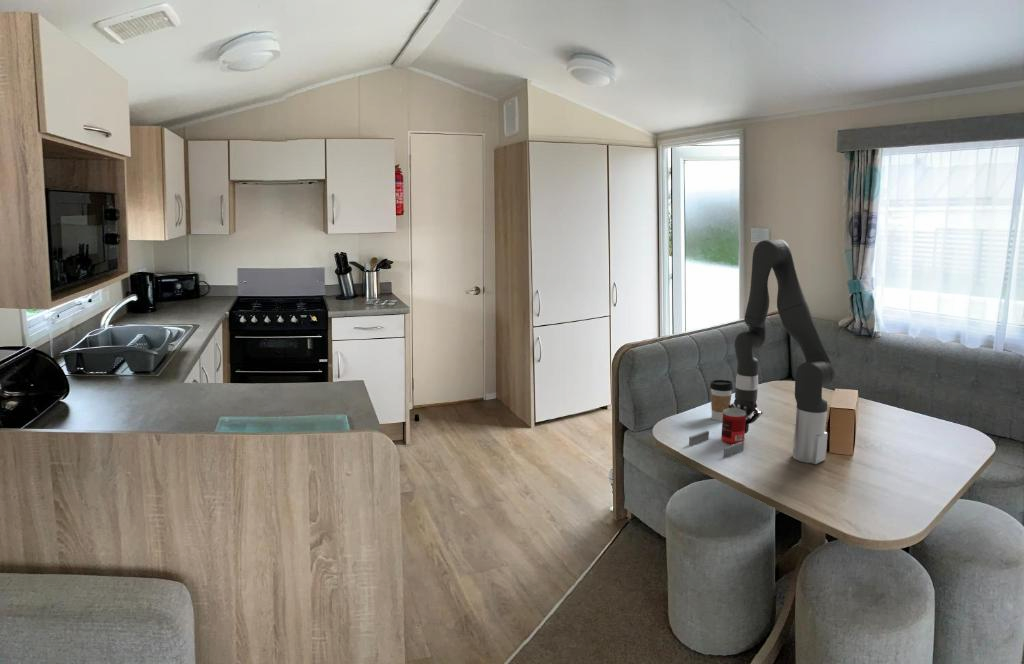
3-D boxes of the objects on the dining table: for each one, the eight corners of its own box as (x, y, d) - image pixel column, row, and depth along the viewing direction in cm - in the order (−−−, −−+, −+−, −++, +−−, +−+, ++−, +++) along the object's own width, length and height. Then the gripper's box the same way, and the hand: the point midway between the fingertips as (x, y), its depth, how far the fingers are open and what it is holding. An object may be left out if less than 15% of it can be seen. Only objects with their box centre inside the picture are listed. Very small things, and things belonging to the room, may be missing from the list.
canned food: (746, 439, 250) (748, 410, 248) (740, 446, 243) (742, 416, 241) (724, 435, 254) (726, 406, 252) (718, 442, 247) (720, 412, 245)
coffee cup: (726, 423, 266) (728, 385, 263) (705, 419, 271) (707, 382, 268) (734, 417, 273) (736, 380, 270) (713, 413, 278) (715, 377, 275)
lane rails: (743, 450, 240) (743, 442, 239) (726, 457, 234) (726, 449, 233) (706, 438, 251) (706, 430, 251) (688, 445, 245) (689, 436, 244)
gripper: (769, 388, 246) (766, 435, 250) (736, 380, 256) (733, 425, 260) (757, 392, 241) (753, 440, 245) (724, 384, 251) (721, 430, 255)
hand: (743, 432), depth 252 cm, fingers closed
